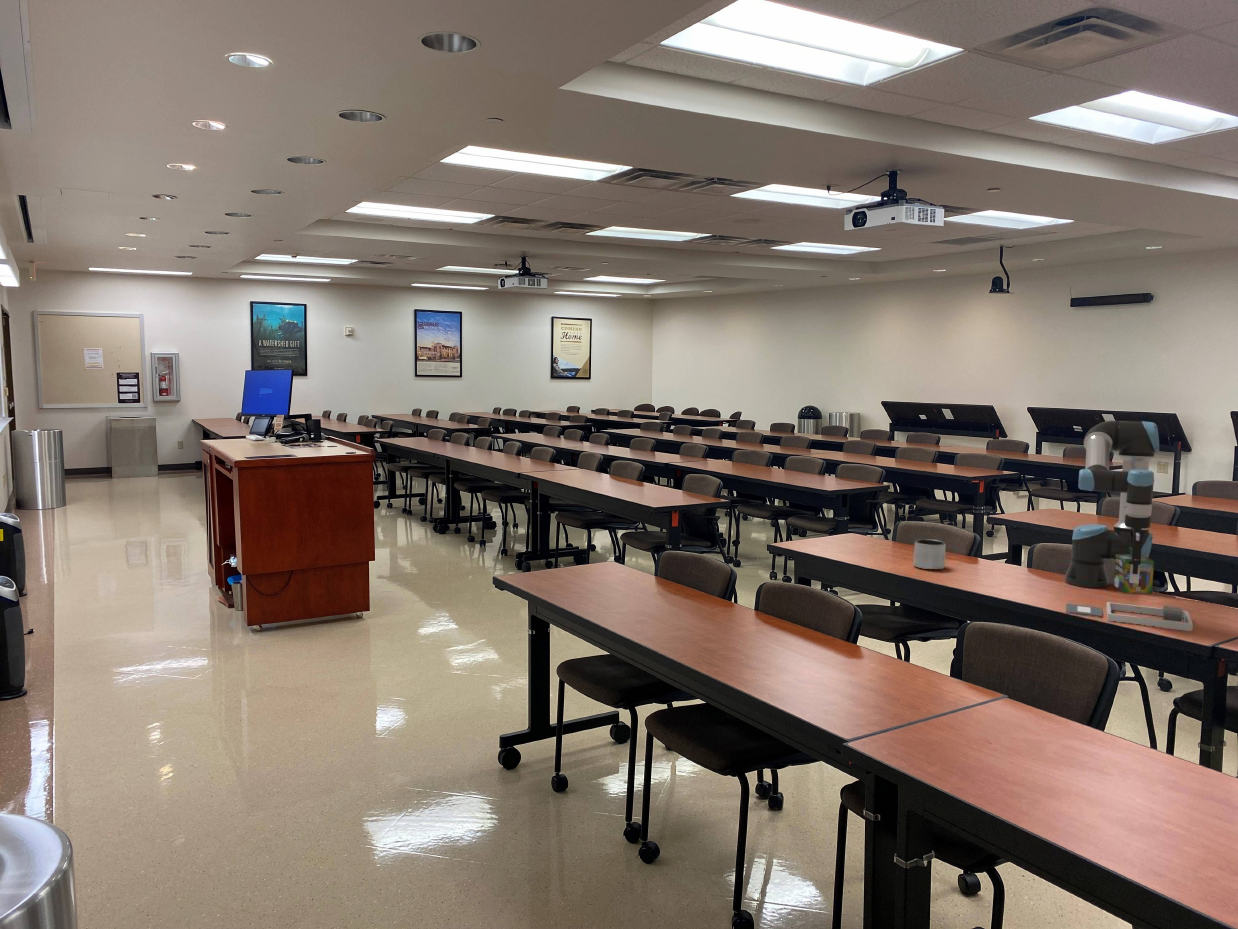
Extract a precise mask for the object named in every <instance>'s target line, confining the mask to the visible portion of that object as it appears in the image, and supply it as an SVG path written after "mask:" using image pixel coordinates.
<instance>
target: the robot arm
mask: <svg viewBox="0 0 1238 929" xmlns="http://www.w3.org/2000/svg"><path fill="white" fill-rule="evenodd" d="M1083 447H1084V449H1085V451H1086V452H1085V454H1086V455H1085V468H1082V469H1080V470H1079V473H1078V486H1077V487H1078V489H1080V491H1081V490H1082V491H1089V492H1093V491H1094V492H1105V493H1106V492H1107V493H1120V498H1119V500H1120V501H1119V512H1118V514H1119V515H1118V521H1117V522H1116V523H1115V524H1114V525H1113V529H1108V526H1107V525H1104V524H1083V525H1077V526H1076V527H1075V528H1074V529H1073V531H1072V532H1073V533H1072V538H1071V539H1072V545H1071V556H1070V557H1071V559H1070V564H1069V567H1068V569H1067V570H1066V572H1065V574H1064V575H1065V576H1064V581H1065V583H1067V584H1069V585H1073V586H1076V587H1082V588H1088V589H1089V588H1090V589H1101V588H1102V589H1103V588H1107V587H1108V586H1109V582H1110V581H1109V577H1108V574H1107V570H1106V564H1105V562H1106V560H1110V561H1115V557H1116V554H1119V555H1125V554H1130V550H1129V546H1130V547H1132V560H1131V562H1129V564H1131V565H1130V579H1129V583H1137V584H1139V573H1140V564H1141V555H1144V556H1145V557H1148V558H1149V556H1150V553H1151V550H1152V549H1151V548H1152V545H1153V538H1154V534H1153V533H1152V532H1150V531H1149V530H1150V528H1151V520H1152V518H1151V515H1152V511H1153V495H1154V494H1153V493H1154V485H1155V473H1154V472H1153V471H1152V470H1149V468H1150V461H1151V460H1152V459H1154V458H1155V454H1157V453H1159V452H1160V438H1159V429H1158V426H1157V424H1156V423H1155V422H1152V421H1143V420H1141V421H1139V420H1138V421H1137V420H1136V421H1135V420H1107V421H1103V422H1100V423H1098V424H1096V425H1094V426H1093V427H1091V428H1090V429H1089V430H1088V432H1086V434H1085V436H1084V439H1083ZM1110 451H1115V452H1118V456H1119V458H1121V460H1122V468H1121V469H1122V470H1110Z"/></svg>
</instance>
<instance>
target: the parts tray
mask: <svg viewBox="0 0 1238 929" xmlns="http://www.w3.org/2000/svg"><path fill="white" fill-rule="evenodd" d="M1105 605H1106V607H1105V610H1106V620H1108V621H1107V622H1113V621H1116V622H1115V623H1121V622H1126V623H1125V624H1128V623H1134V624H1133V625H1136V624H1141V625H1140V626H1144V625H1146V626H1147V627H1152V626H1155V628H1160V627H1162V628H1163V629H1168V630H1169V629H1170V630H1179V631H1184V632H1193V626H1194V623H1193V620H1192V619H1191V617H1190V614H1189V612H1188V610H1187V611H1186V610H1182V611H1183V612H1182V620H1183V621H1182V622H1178V621H1170V620H1162V618H1161V619H1160V618H1153V617H1144V616H1135V615H1127V614H1121V613H1120V614H1118V613H1112V611H1117V612H1123V611H1124V613H1131V612H1134V613H1133V614H1140V613H1142V615H1148V616H1149V615H1150V616H1156V617H1157V616H1158V617H1163V607H1153V606H1147V605H1146V606H1145V605H1137V604H1136V605H1135V604H1128V603H1118V602H1111V601H1106V604H1105ZM1162 628H1161V629H1162Z"/></svg>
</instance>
